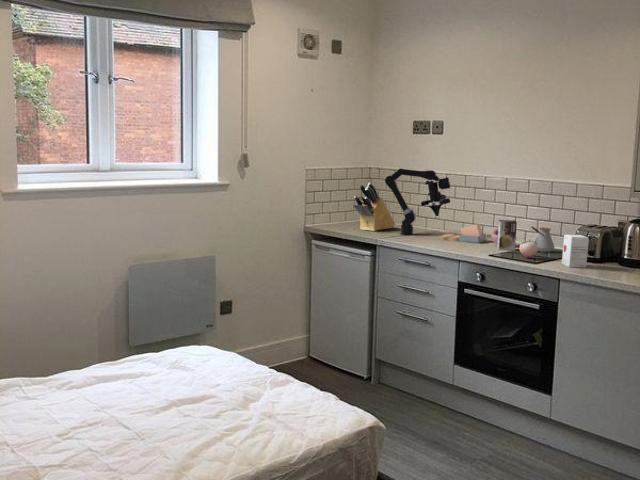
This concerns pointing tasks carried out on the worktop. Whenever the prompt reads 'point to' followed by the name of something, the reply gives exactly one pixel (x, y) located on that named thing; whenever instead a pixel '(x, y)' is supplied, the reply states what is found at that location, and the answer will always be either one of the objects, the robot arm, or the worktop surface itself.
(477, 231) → the terracotta block
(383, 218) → the knife block
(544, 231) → the coffee pot
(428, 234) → the worktop surface
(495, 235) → the mortar and pestle
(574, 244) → the supplement box
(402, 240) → the worktop surface
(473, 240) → the slate tray
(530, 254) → the decorative fruit
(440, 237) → the tan wooden slab
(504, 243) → the coffee box
